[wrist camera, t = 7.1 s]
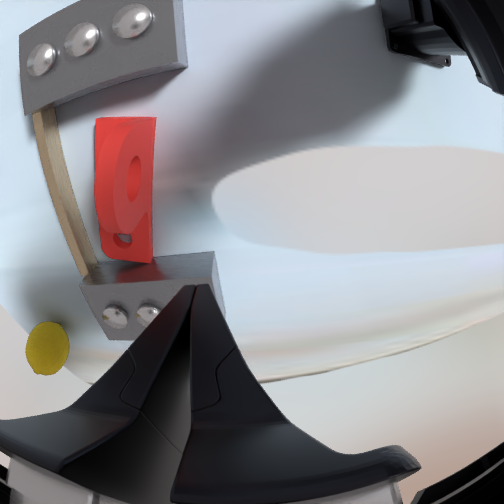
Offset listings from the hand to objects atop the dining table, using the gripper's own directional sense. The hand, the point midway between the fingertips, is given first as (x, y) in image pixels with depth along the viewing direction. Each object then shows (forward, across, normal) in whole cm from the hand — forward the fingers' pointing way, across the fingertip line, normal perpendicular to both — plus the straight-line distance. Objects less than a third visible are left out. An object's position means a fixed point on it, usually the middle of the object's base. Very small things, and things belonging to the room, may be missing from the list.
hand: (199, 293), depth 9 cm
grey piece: (+13, +7, -1) cm, 15 cm away
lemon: (+13, +23, +15) cm, 31 cm away
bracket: (+14, +8, 0) cm, 15 cm away
